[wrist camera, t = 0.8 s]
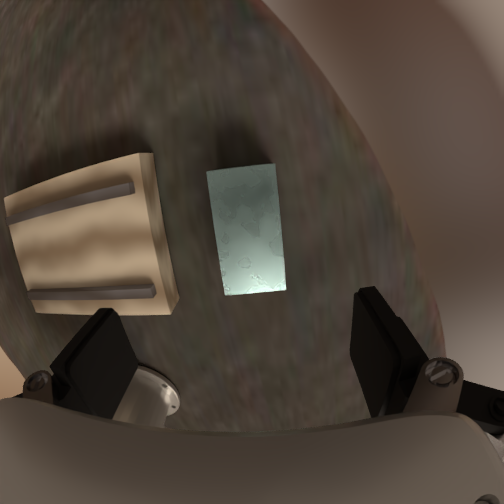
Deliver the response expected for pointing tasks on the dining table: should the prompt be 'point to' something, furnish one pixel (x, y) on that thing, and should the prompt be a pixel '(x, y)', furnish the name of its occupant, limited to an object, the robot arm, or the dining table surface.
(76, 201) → the stand
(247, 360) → the dining table surface
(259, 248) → the housing
